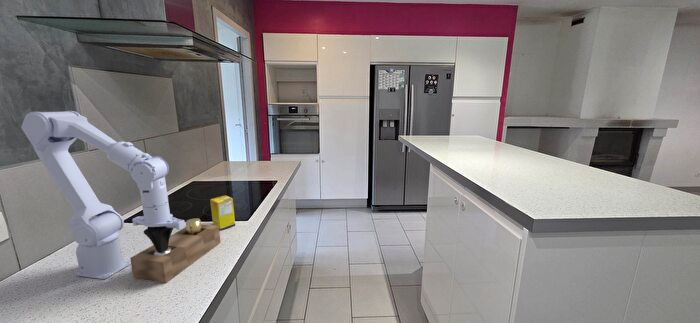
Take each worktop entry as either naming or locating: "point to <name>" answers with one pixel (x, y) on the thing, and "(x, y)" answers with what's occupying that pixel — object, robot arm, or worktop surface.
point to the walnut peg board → (174, 255)
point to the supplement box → (222, 212)
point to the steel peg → (163, 252)
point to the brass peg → (193, 226)
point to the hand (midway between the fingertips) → (162, 251)
